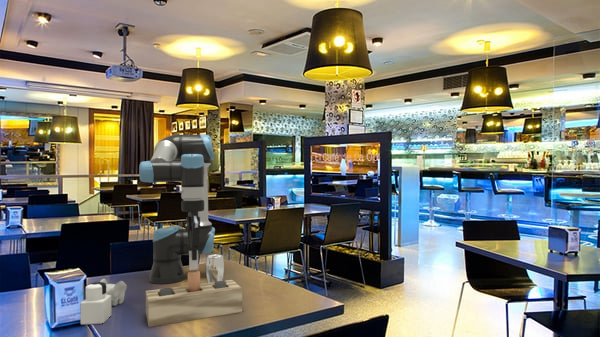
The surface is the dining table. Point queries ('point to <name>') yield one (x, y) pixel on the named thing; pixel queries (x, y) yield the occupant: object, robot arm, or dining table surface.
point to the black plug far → (219, 284)
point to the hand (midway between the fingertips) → (193, 269)
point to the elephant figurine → (115, 292)
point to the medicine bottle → (95, 304)
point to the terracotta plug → (193, 281)
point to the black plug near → (166, 291)
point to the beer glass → (214, 268)
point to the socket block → (192, 303)
